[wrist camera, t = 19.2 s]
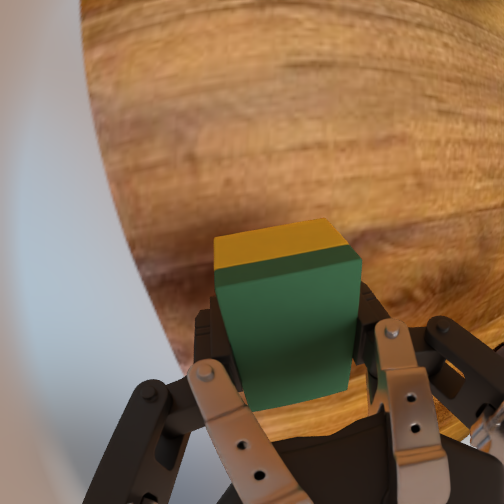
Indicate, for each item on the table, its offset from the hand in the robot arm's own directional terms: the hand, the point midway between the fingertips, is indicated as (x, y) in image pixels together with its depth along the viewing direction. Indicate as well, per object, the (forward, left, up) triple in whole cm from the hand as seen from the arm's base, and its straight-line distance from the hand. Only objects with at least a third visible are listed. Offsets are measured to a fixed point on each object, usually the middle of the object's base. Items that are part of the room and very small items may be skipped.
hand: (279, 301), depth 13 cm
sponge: (0, 0, 0) cm, 0 cm away
